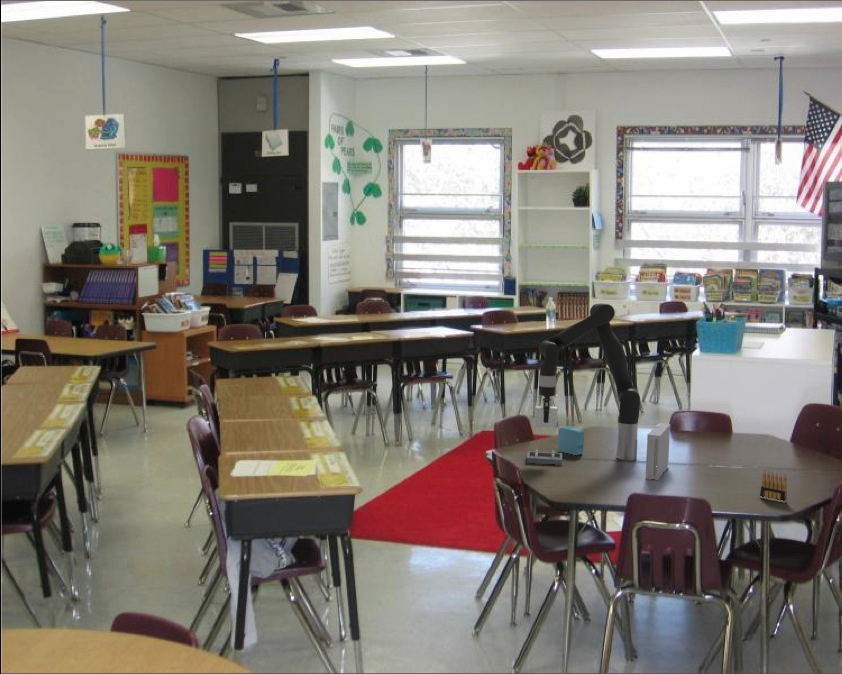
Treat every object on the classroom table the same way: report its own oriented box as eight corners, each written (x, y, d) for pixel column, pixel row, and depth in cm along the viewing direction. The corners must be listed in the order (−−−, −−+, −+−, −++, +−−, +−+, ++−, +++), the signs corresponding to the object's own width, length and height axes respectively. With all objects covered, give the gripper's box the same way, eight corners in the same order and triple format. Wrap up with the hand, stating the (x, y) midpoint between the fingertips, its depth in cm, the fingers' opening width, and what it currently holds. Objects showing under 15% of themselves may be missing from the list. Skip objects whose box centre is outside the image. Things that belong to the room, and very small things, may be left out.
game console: (644, 479, 490) (646, 434, 487) (655, 465, 515) (657, 423, 512) (657, 480, 488) (660, 435, 485) (668, 466, 513) (670, 424, 510)
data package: (583, 454, 533) (584, 430, 531) (577, 456, 529) (578, 431, 528) (563, 450, 541) (564, 425, 540) (557, 451, 538) (558, 427, 537)
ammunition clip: (759, 498, 462) (761, 470, 461) (761, 497, 464) (763, 469, 462) (784, 503, 455) (786, 474, 454) (786, 502, 457) (788, 474, 455)
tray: (561, 458, 524) (562, 450, 523) (561, 465, 511) (562, 456, 510) (527, 457, 525) (527, 448, 525) (526, 463, 513) (526, 454, 512)
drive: (556, 426, 518) (557, 406, 516) (556, 428, 513) (557, 408, 512) (535, 424, 519) (535, 405, 518) (534, 426, 514) (535, 407, 513)
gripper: (555, 388, 506) (554, 425, 508) (555, 382, 520) (554, 418, 522) (538, 387, 507) (537, 424, 509) (539, 382, 521) (538, 418, 523)
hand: (546, 421), depth 516 cm, fingers closed on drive, 4 cm apart
